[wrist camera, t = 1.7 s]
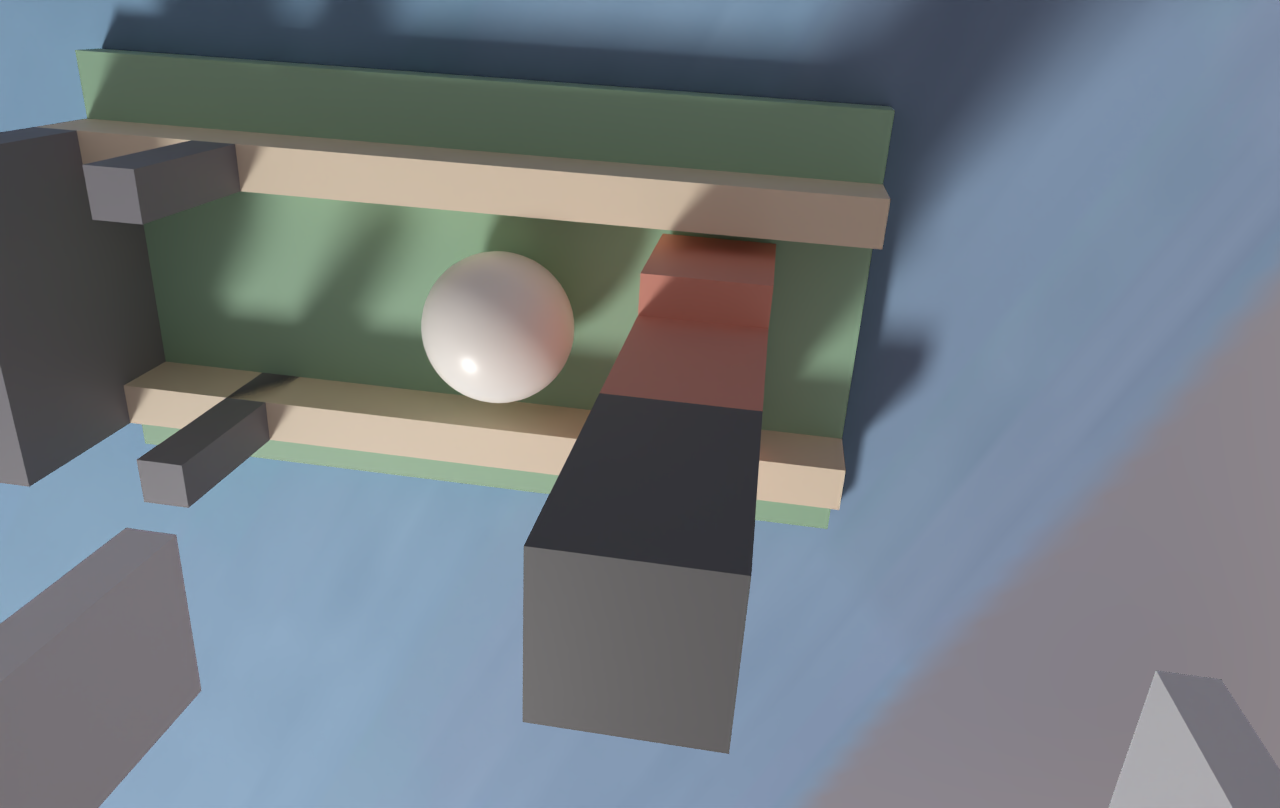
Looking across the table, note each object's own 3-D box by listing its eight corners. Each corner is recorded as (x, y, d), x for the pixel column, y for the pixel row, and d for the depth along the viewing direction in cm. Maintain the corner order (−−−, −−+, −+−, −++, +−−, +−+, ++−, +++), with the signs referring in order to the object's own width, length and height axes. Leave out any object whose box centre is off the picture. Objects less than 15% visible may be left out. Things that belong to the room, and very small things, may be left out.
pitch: (100, 48, 26) (-123, 62, 20) (890, 106, 24) (927, 144, 17) (163, 430, 31) (2, 540, 25) (826, 512, 28) (836, 657, 22)
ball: (449, 229, 26) (392, 266, 22) (590, 242, 25) (556, 282, 22) (452, 363, 27) (401, 418, 24) (585, 377, 27) (553, 436, 23)
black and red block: (662, 233, 24) (524, 479, 12) (776, 243, 24) (760, 508, 11) (651, 405, 27) (522, 773, 14) (755, 417, 26) (722, 805, 13)
